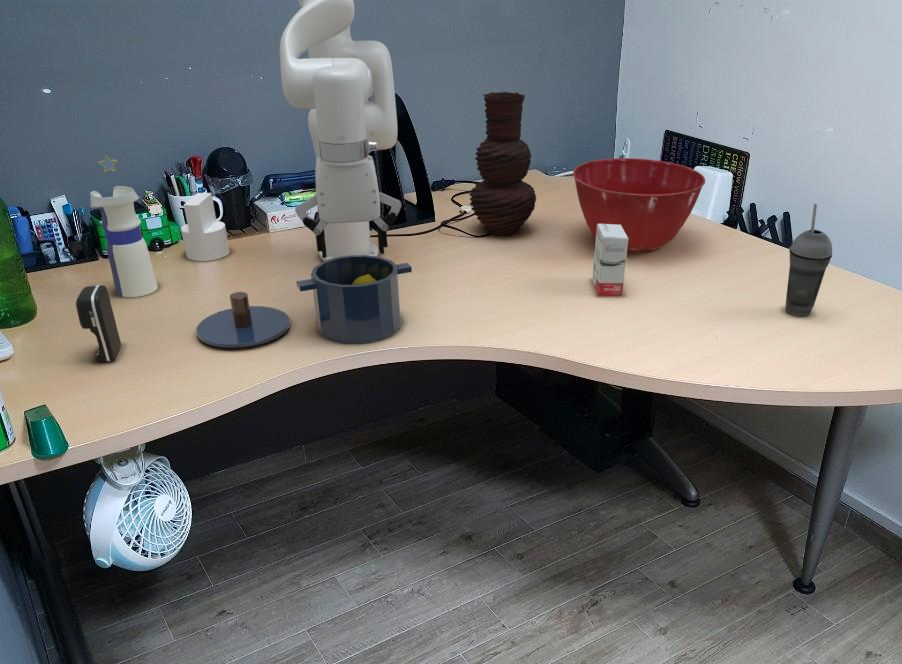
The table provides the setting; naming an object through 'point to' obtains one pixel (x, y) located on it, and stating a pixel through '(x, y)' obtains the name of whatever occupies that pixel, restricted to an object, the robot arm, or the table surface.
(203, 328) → the pot lid
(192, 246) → the cylinder with rectangular tab
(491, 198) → the vase
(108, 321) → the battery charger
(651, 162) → the mixing bowl
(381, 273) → the pot
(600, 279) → the ink box
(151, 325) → the table surface
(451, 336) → the table surface
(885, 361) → the table surface
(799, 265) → the beverage cup
